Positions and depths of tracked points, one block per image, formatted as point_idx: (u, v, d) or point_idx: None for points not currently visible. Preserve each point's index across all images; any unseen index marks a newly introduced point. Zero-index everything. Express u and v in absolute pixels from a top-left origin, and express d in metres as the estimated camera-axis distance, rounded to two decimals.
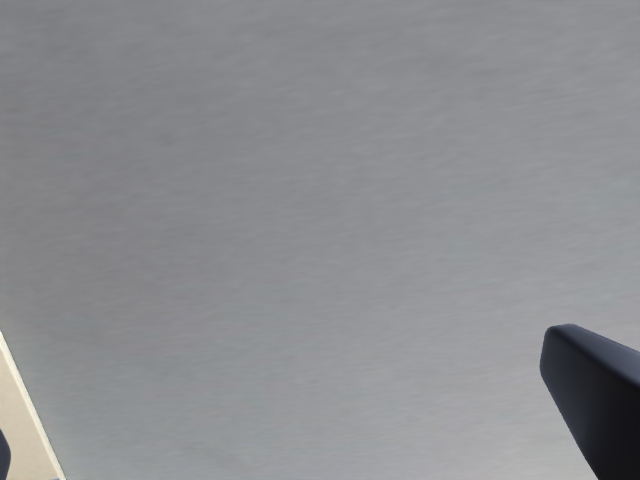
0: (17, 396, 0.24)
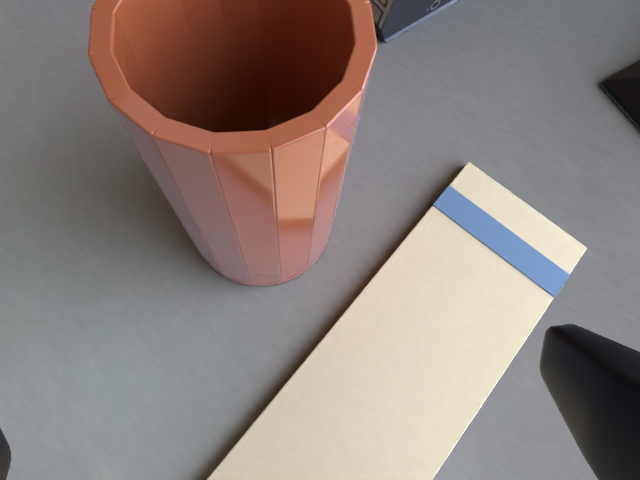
0: None
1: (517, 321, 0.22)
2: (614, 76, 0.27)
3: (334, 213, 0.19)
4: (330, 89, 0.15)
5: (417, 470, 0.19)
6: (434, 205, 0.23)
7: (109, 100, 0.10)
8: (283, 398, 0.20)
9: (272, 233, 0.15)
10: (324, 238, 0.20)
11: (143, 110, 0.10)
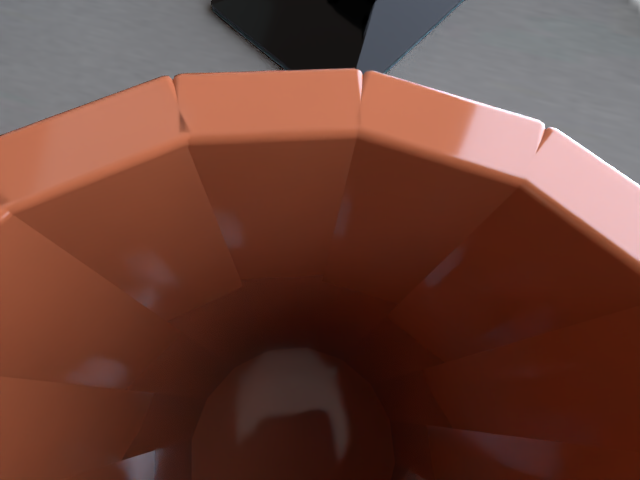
0: None
1: None
2: None
3: None
4: (495, 411, 0.06)
5: None
6: None
7: None
8: None
9: None
10: None
11: None
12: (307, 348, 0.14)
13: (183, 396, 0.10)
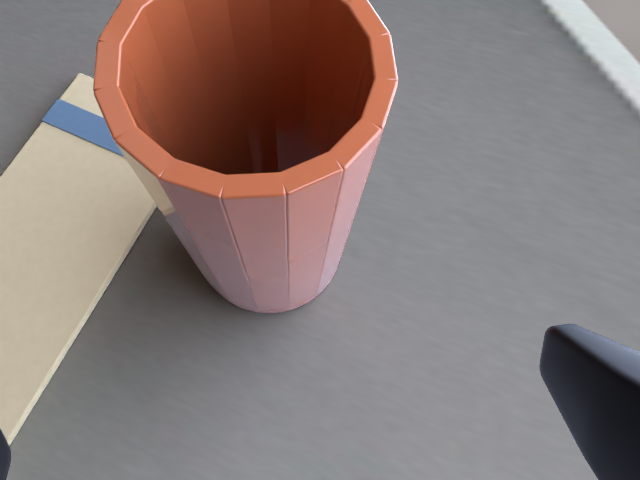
0: (18, 411, 0.19)
1: (133, 207, 0.22)
2: None
3: None
4: (344, 118, 0.15)
5: (32, 368, 0.19)
6: (42, 120, 0.23)
7: (114, 139, 0.10)
8: None
9: (282, 267, 0.15)
10: (334, 266, 0.19)
11: (150, 150, 0.10)
12: None
13: None
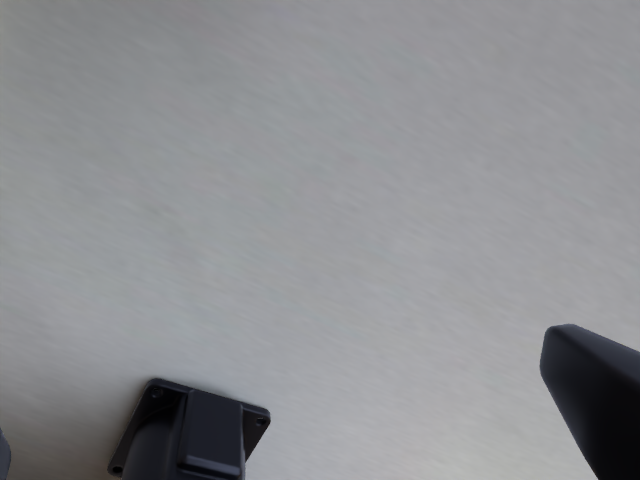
0: None
1: None
2: None
3: None
4: None
5: None
6: None
7: None
8: None
9: None
10: None
11: None
12: None
13: None
